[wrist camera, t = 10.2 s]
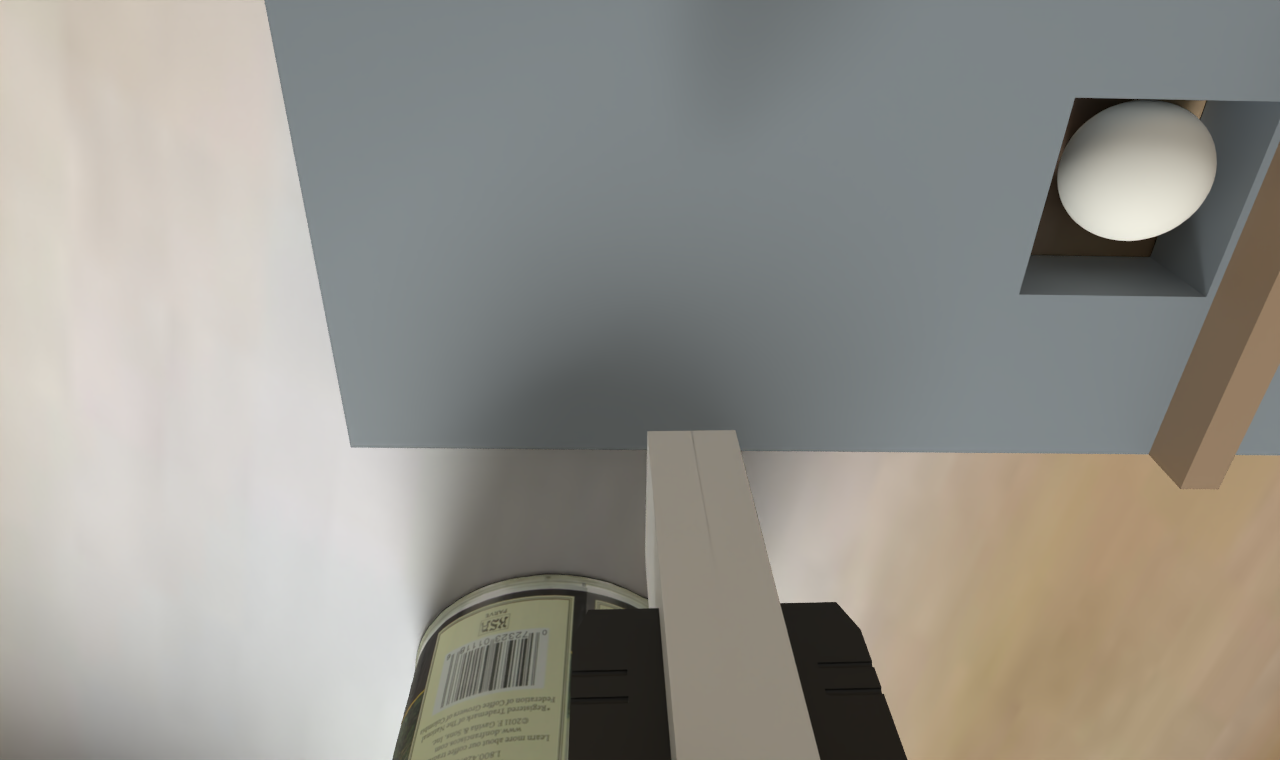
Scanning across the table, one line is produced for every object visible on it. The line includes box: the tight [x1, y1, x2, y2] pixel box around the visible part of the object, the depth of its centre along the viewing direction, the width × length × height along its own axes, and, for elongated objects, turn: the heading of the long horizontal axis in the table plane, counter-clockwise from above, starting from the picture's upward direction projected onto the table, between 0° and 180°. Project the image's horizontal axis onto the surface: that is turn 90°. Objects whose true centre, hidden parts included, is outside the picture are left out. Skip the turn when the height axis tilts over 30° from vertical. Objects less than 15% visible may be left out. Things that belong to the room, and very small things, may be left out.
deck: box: [265, 0, 1280, 489], centre depth 19 cm, size 26×14×4 cm, turn 89°
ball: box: [1057, 100, 1217, 241], centre depth 19 cm, size 3×3×3 cm
